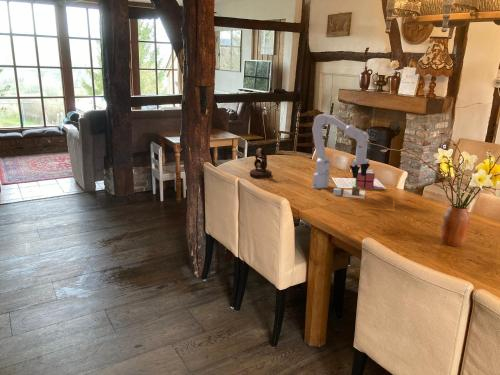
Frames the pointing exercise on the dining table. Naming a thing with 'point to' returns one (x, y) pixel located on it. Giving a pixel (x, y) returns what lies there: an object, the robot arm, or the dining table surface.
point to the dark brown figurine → (260, 163)
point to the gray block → (337, 191)
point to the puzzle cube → (365, 179)
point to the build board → (349, 194)
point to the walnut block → (355, 190)
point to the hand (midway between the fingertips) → (359, 176)
